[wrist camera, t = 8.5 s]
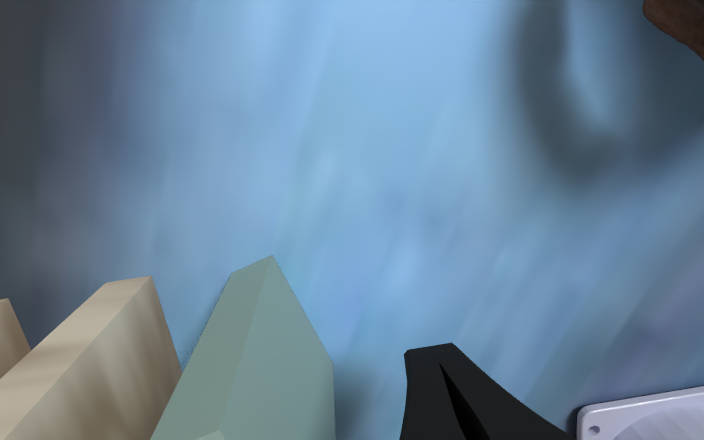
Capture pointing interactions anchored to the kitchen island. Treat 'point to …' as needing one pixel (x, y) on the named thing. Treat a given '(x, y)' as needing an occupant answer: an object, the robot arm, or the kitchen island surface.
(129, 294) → the domino
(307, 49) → the kitchen island surface
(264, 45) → the kitchen island surface
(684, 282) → the kitchen island surface
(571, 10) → the kitchen island surface
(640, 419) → the robot arm
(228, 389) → the domino
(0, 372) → the domino
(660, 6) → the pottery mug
